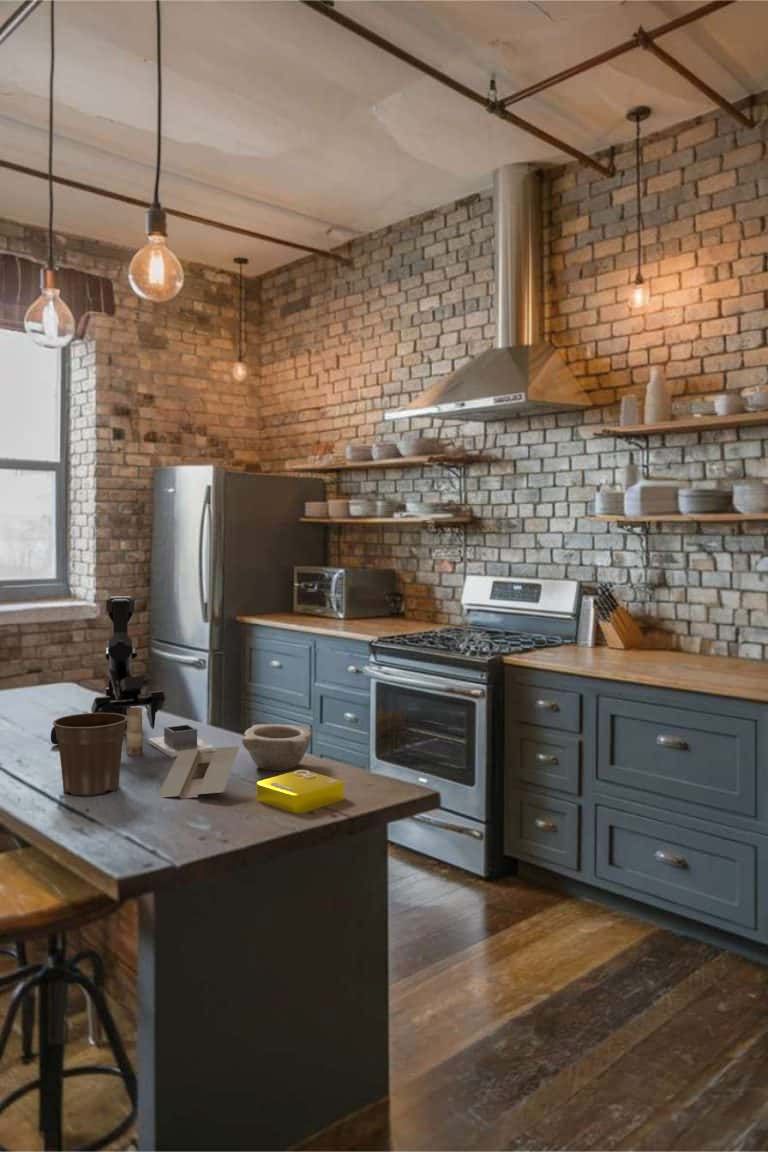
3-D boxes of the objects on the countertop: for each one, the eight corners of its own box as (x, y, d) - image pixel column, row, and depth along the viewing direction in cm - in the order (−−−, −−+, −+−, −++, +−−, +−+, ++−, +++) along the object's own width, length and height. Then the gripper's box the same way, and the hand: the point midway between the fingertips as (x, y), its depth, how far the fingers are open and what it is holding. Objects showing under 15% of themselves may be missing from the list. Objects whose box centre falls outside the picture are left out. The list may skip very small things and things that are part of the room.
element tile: (252, 801, 192) (252, 779, 192) (301, 786, 204) (301, 766, 203) (298, 816, 183) (298, 794, 182) (347, 800, 194) (347, 779, 194)
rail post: (129, 751, 232) (129, 707, 231) (144, 751, 231) (144, 707, 231) (124, 755, 228) (124, 710, 227) (139, 755, 227) (139, 710, 227)
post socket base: (148, 743, 241) (148, 724, 241) (189, 737, 248) (189, 719, 247) (171, 757, 226) (171, 737, 226) (214, 751, 233) (214, 732, 233)
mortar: (305, 777, 210) (305, 739, 210) (236, 774, 211) (237, 737, 211) (315, 759, 227) (316, 724, 226) (252, 756, 228) (252, 722, 228)
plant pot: (53, 782, 203) (53, 714, 202) (125, 775, 209) (125, 709, 208) (53, 802, 188) (52, 729, 187) (130, 795, 194) (130, 724, 193)
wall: (238, 813, 195) (250, 757, 206) (224, 792, 189) (237, 735, 200) (172, 818, 199) (187, 763, 209) (156, 798, 193) (172, 742, 204)
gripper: (94, 667, 226) (106, 716, 218) (163, 661, 237) (178, 708, 228) (85, 691, 233) (98, 741, 225) (153, 685, 244) (167, 732, 235)
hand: (136, 730), depth 228 cm, fingers open, 9 cm apart
